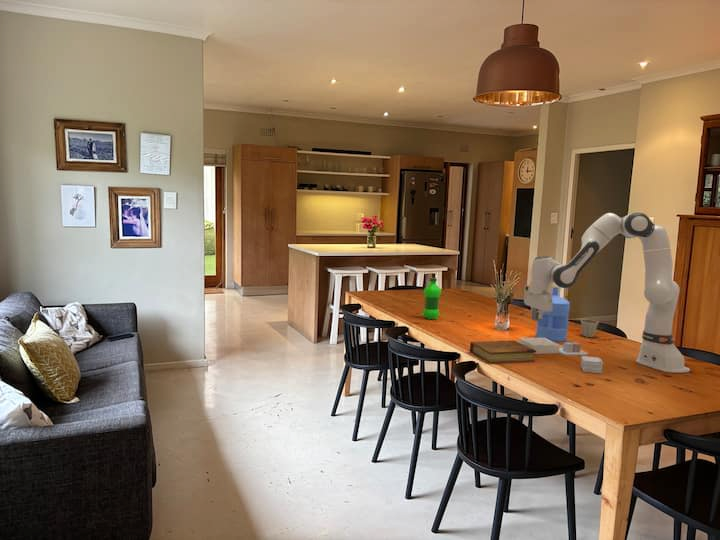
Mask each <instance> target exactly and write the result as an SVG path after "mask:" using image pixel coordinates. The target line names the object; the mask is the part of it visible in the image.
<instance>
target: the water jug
mask: <svg viewBox="0 0 720 540" xmlns="http://www.w3.org/2000/svg"><path fill="white" fill-rule="evenodd" d="M551 289H552V290H551V294H550V295H551V297H552V300H553V308H552V311H551V312H544V314H543V315H542V319H541V321H536V322H537V323H536V332H535V338H546V339H548V340H550V341H552V342H554V343H563V342H566V341H567V340H568V339H567V338H568V326H569V316H570V308H571V305H570V304H571V303H570V301H569V300H567V299H565V298H563V297H561V296H560V295H559V289H560V287H558V286H557V287H555V286H553V287H552V288H551ZM537 311H539V310H538V309H537Z"/></svg>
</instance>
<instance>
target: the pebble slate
mask: <svg viewBox="0 0 720 540" xmlns="http://www.w3.org/2000/svg"><path fill="white" fill-rule="evenodd" d="M570 342H571V341H569V342H566V341H564V342H562V346H563V351H565V352H573V346H574V344H572V343H570Z"/></svg>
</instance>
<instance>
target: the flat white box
mask: <svg viewBox="0 0 720 540" xmlns="http://www.w3.org/2000/svg"><path fill="white" fill-rule="evenodd" d="M517 342H518V343H521V344H523V345H525V346H527V347H529V348H531V349H534V350H536V353H534V354H535V355H536V354H537V355H538V354H544V355H545V354H547V355H548V354H560V353H559V351H560V346H561V345H560V344H559V343H558V342H552V341H550V340H548V339H546V338H537V337H518V341H517Z"/></svg>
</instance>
